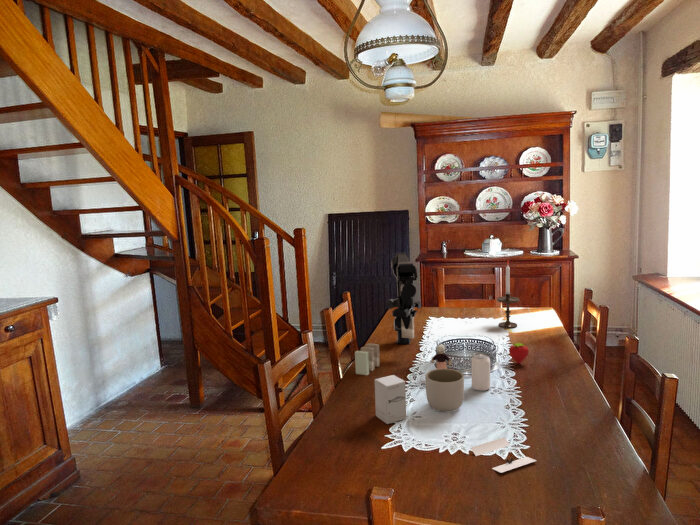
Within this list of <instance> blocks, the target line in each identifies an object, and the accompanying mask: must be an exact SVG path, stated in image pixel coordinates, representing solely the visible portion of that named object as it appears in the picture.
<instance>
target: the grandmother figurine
mask: <svg viewBox="0 0 700 525" xmlns="http://www.w3.org/2000/svg"><path fill="white" fill-rule="evenodd" d="M436 352H437V354H435V355H433V356H432V358H431V360H430V363H431V364H434V362H435V361H436V369H448V367H447V363H448V365H449V366H451V365H452V360H451V359H450V358H449V356H448V355H447V354H444V353H445V352H446V346H445V345H444V344H438V346H437V347H436Z"/></svg>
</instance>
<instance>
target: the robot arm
mask: <svg viewBox="0 0 700 525" xmlns="http://www.w3.org/2000/svg"><path fill="white" fill-rule="evenodd" d="M410 260H411V259H410V258H409V256H408V254H407V253H406V252H397V253H395V256H394V257H392V258H391V263H390V264H391V265H390V266H391V270H392V273H393V275H394V277H395V278H396V290H397V292H396V293H397V298H393V299H392V298H390V299H388V300H387V301H386V307H387V308H388V309H389V310H392V309H393V308H394V309H393V310H392V317H393V318H394V317H395V318H394V319H393V329H394V330H393V331H395V332H396V333H397V334H396V335H397V337H396V338H397V339H396V341H395V344H398V345H410V343H411V342H412V339H411V338H402V327H401V318H402V320H403V323H404V326H405V329H408V328H409V324H410V321H411V318H412V317H414V318H415V317H416V314H417V313H418V310H415V308H417V309H421V308H422V303H421V301H419V300H414V298H415V297H416V294H417V288H416V286H415V284H414V281H417V279H418V270H417V268H416V266H415V265H414V263H413V262H412V261H410Z"/></svg>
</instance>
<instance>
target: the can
mask: <svg viewBox="0 0 700 525" xmlns="http://www.w3.org/2000/svg"><path fill="white" fill-rule="evenodd" d="M471 388H472V389H474V390H475V391H481V392H485V391H489V390H490V389H491V359H490V355H489V354H487V353H484V352H483V353H482V352H476V353H473V354H472V357H471Z"/></svg>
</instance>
